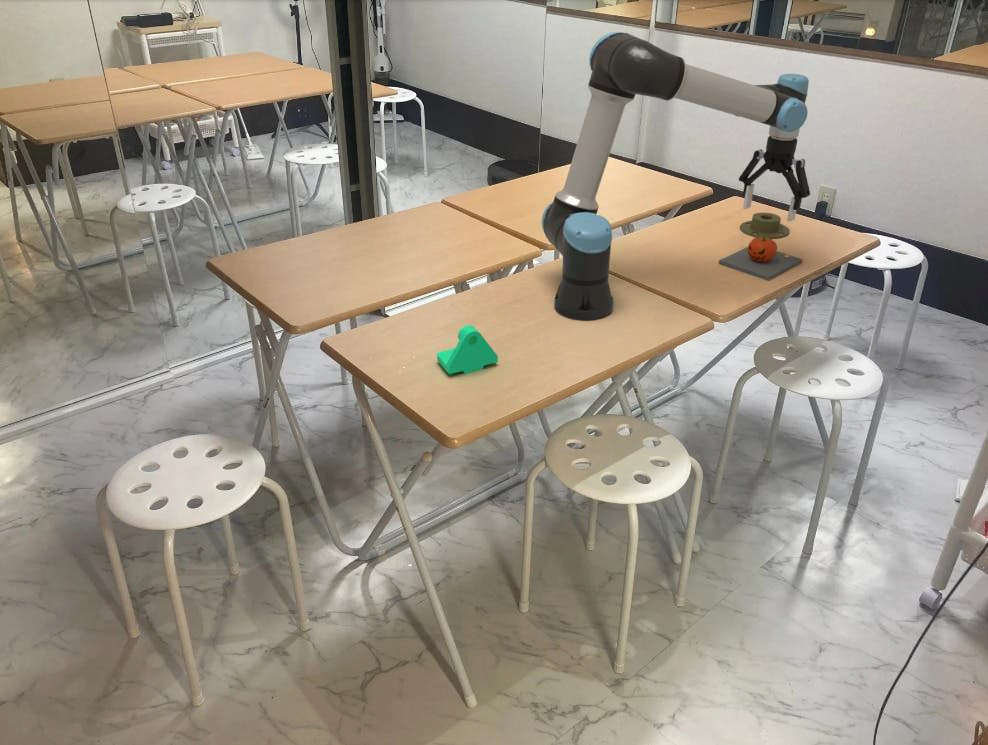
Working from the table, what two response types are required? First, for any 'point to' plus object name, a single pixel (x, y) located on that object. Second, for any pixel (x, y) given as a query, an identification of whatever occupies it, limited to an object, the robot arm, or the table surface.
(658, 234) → the table surface
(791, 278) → the table surface
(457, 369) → the camera mount
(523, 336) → the table surface
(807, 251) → the table surface
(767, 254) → the pumpkin
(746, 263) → the mat
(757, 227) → the flange
